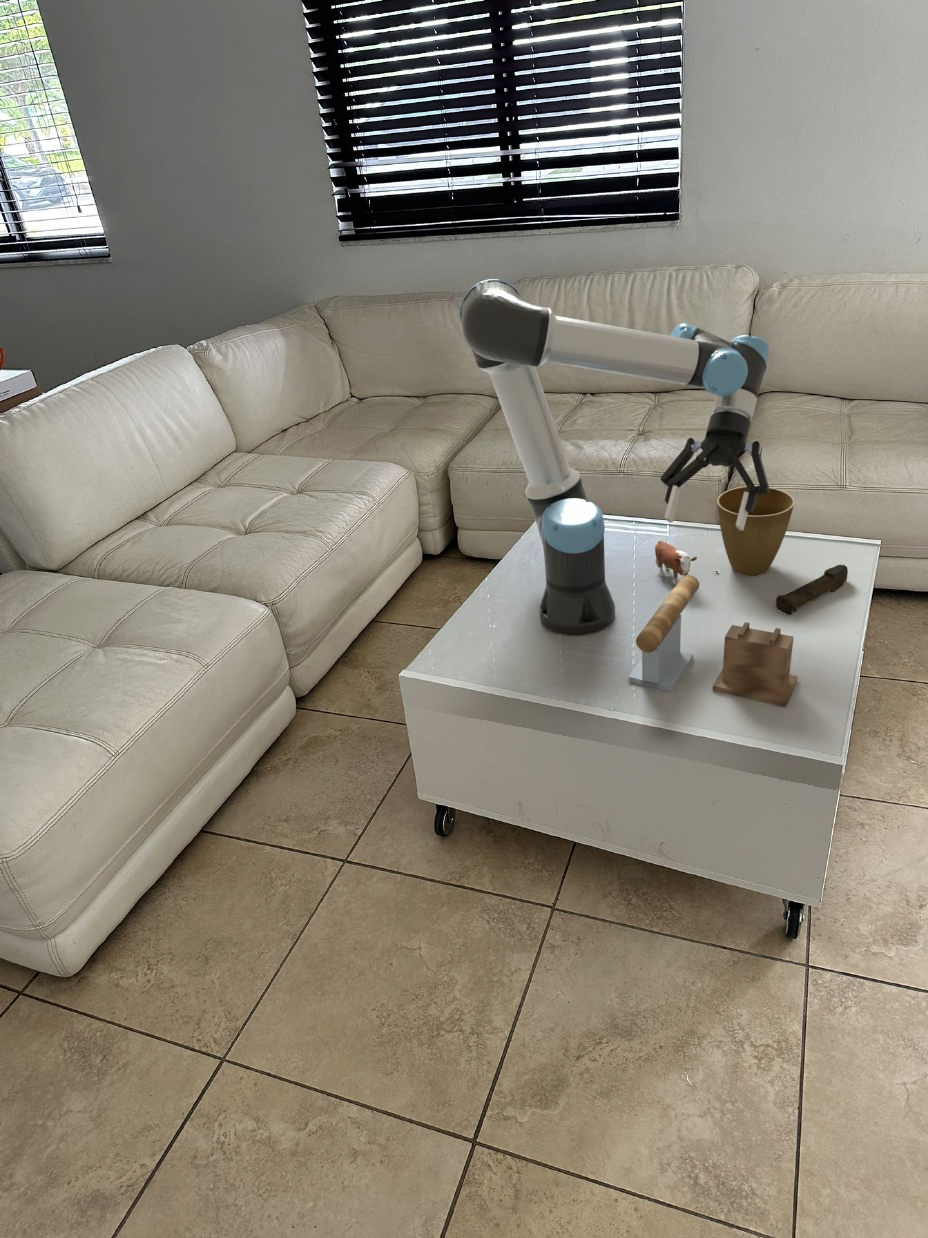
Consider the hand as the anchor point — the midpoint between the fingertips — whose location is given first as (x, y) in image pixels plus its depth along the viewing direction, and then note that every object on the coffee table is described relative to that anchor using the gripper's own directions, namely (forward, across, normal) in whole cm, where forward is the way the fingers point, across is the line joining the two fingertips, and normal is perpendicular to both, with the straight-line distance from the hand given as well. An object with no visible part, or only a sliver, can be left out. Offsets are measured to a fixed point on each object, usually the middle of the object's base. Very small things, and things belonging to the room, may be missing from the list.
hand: (702, 524), depth 151 cm
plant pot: (0, -2, -29) cm, 29 cm away
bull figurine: (+7, +10, -21) cm, 24 cm away
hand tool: (+5, -16, -25) cm, 30 cm away
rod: (+20, -1, +6) cm, 21 cm away
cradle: (+29, 0, +3) cm, 29 cm away
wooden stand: (+28, -16, 0) cm, 32 cm away
